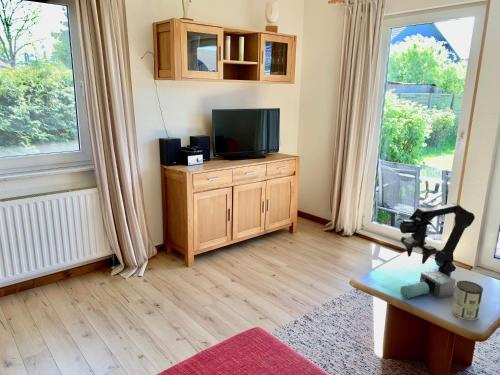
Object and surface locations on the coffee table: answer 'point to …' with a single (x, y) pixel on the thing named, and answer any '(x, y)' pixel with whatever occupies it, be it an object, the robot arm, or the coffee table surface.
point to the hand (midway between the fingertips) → (415, 260)
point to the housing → (438, 283)
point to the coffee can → (467, 300)
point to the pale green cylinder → (414, 290)
